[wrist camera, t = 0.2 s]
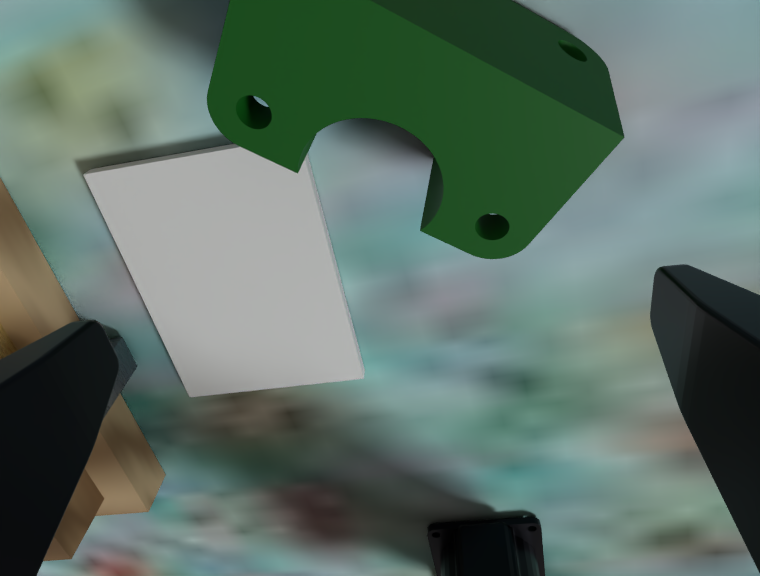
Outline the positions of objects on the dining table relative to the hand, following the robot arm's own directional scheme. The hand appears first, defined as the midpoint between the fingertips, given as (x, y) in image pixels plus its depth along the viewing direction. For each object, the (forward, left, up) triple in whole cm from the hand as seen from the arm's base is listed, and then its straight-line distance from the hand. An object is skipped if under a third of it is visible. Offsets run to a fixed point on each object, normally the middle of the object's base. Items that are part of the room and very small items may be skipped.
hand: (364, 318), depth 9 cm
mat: (-7, +8, -14) cm, 18 cm away
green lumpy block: (+1, -1, -15) cm, 15 cm away
